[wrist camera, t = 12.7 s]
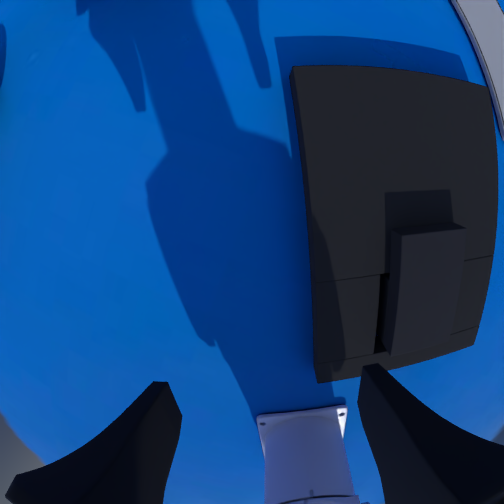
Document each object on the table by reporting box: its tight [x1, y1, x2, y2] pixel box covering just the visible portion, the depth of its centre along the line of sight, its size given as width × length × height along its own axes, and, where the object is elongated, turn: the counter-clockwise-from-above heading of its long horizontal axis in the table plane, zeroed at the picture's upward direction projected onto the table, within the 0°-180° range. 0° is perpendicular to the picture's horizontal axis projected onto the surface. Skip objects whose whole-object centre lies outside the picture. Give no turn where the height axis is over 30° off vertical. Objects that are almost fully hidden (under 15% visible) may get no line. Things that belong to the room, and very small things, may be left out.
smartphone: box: [451, 0, 504, 141], centre depth 11 cm, size 7×1×15 cm
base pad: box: [289, 65, 498, 383], centre depth 16 cm, size 20×14×2 cm
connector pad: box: [376, 222, 467, 357], centre depth 16 cm, size 8×5×4 cm, turn 7°
